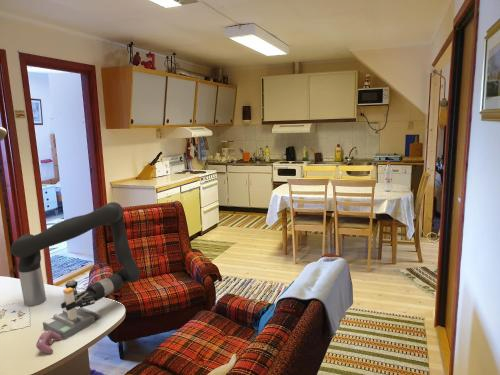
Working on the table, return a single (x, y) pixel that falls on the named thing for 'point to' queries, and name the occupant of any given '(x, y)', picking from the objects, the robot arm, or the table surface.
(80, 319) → the breaker panel
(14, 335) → the table surface
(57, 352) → the table surface
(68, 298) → the breaker lever
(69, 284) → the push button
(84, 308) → the grey long flat bar
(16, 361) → the table surface
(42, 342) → the video game controller
